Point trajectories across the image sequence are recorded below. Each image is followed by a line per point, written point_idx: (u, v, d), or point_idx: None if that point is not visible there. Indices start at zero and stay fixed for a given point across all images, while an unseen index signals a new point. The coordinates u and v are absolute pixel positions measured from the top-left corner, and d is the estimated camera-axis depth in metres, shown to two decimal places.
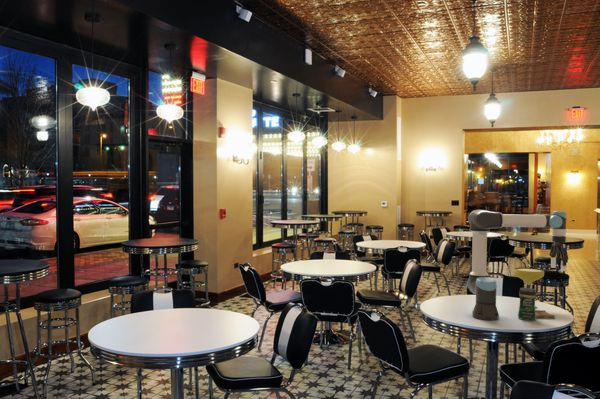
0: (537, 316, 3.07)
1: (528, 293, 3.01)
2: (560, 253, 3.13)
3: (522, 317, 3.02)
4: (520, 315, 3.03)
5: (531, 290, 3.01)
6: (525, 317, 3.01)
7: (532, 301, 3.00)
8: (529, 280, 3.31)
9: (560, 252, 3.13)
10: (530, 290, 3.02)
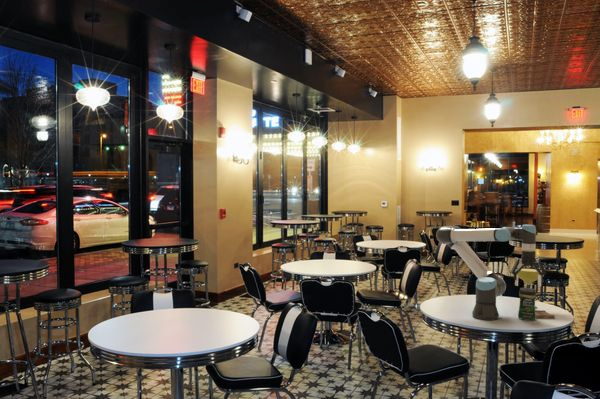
0: (537, 316, 3.07)
1: (528, 293, 3.01)
2: None
3: (522, 317, 3.02)
4: (520, 315, 3.03)
5: (531, 290, 3.01)
6: (525, 317, 3.01)
7: (532, 301, 3.00)
8: (529, 280, 3.31)
9: (519, 266, 3.05)
10: (530, 290, 3.02)
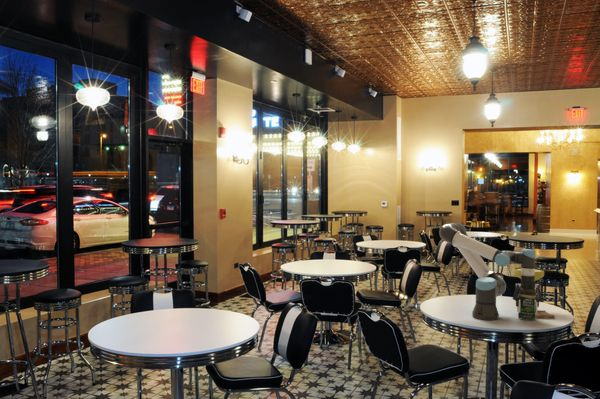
0: (537, 316, 3.07)
1: (528, 293, 3.01)
2: None
3: (522, 317, 3.02)
4: (520, 315, 3.03)
5: (531, 290, 3.01)
6: (525, 317, 3.01)
7: (532, 301, 3.00)
8: None
9: None
10: (530, 290, 3.02)
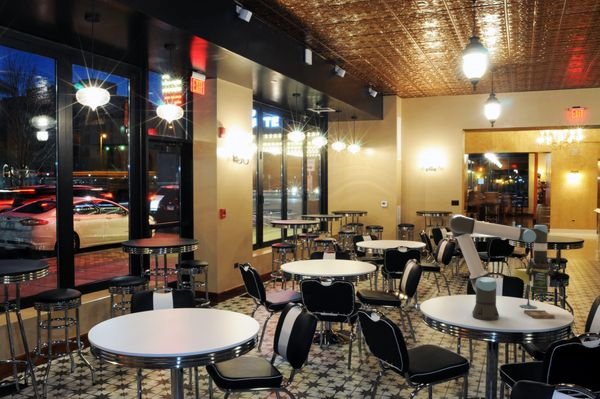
0: (537, 316, 3.07)
1: (540, 268, 3.09)
2: None
3: (535, 291, 3.11)
4: (533, 289, 3.12)
5: (544, 264, 3.10)
6: (538, 291, 3.10)
7: (544, 275, 3.09)
8: None
9: None
10: (542, 264, 3.10)
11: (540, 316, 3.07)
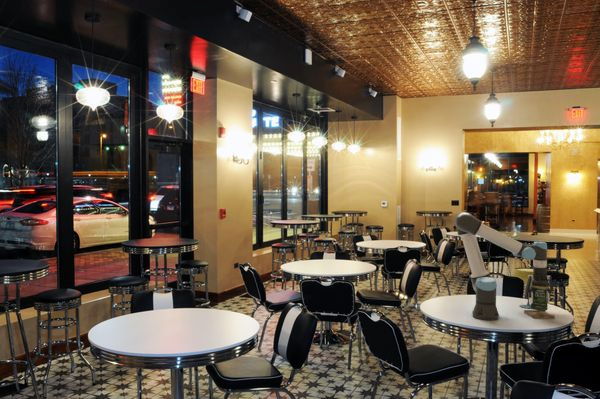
0: (537, 316, 3.07)
1: (540, 285, 3.09)
2: None
3: (534, 308, 3.11)
4: (532, 306, 3.12)
5: (543, 281, 3.10)
6: (537, 308, 3.10)
7: (544, 292, 3.09)
8: None
9: None
10: (542, 281, 3.10)
11: (540, 316, 3.07)
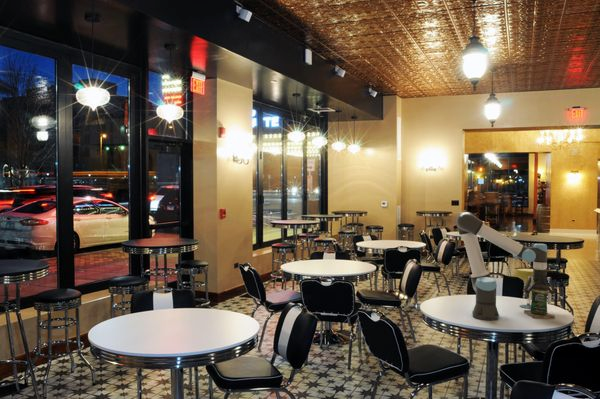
0: (537, 316, 3.07)
1: (540, 289, 3.09)
2: None
3: (534, 311, 3.11)
4: (532, 310, 3.12)
5: (543, 285, 3.10)
6: (537, 312, 3.10)
7: (544, 296, 3.09)
8: None
9: (531, 284, 3.14)
10: (542, 285, 3.10)
11: (540, 316, 3.07)
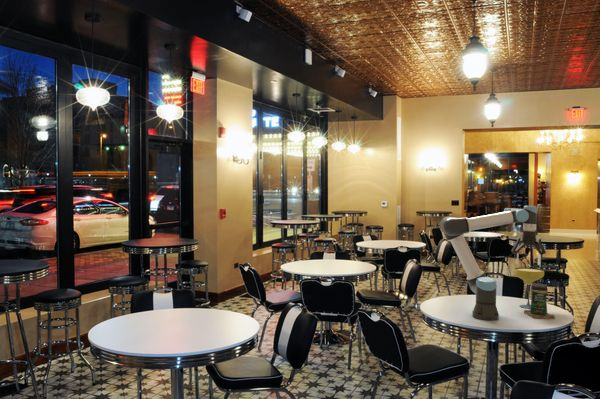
0: (537, 316, 3.07)
1: (539, 289, 3.09)
2: None
3: (534, 312, 3.11)
4: (532, 310, 3.12)
5: (543, 285, 3.10)
6: (537, 312, 3.10)
7: (544, 296, 3.09)
8: (529, 280, 3.31)
9: None
10: (541, 285, 3.10)
11: (540, 316, 3.07)
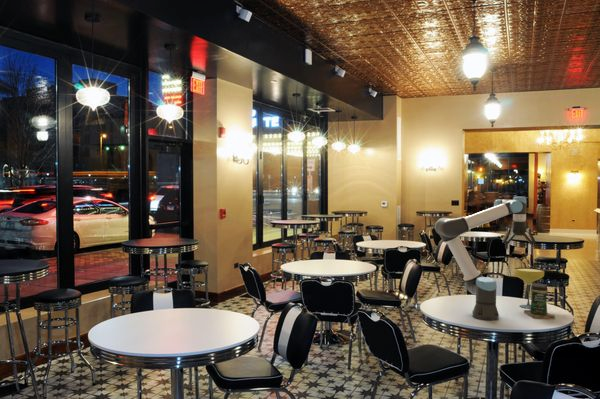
0: (537, 316, 3.07)
1: (539, 289, 3.09)
2: (510, 237, 3.22)
3: (534, 312, 3.11)
4: (532, 310, 3.12)
5: (543, 285, 3.10)
6: (537, 312, 3.10)
7: (544, 296, 3.09)
8: (529, 280, 3.31)
9: (510, 236, 3.22)
10: (541, 285, 3.10)
11: (540, 316, 3.07)
